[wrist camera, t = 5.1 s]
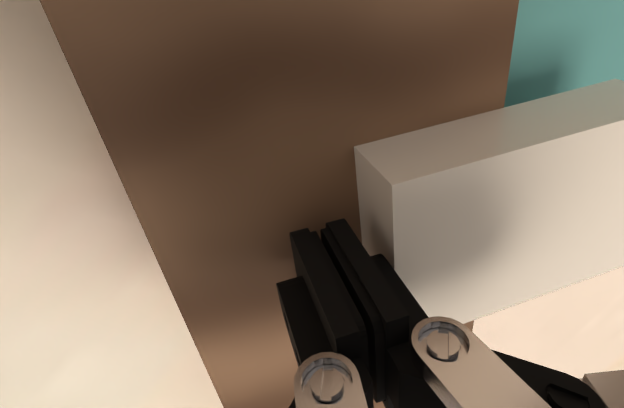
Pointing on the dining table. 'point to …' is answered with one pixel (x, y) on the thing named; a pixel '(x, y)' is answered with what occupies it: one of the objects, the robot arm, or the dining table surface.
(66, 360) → the dining table surface
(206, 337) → the board
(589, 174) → the tile
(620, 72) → the mat
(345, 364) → the robot arm
